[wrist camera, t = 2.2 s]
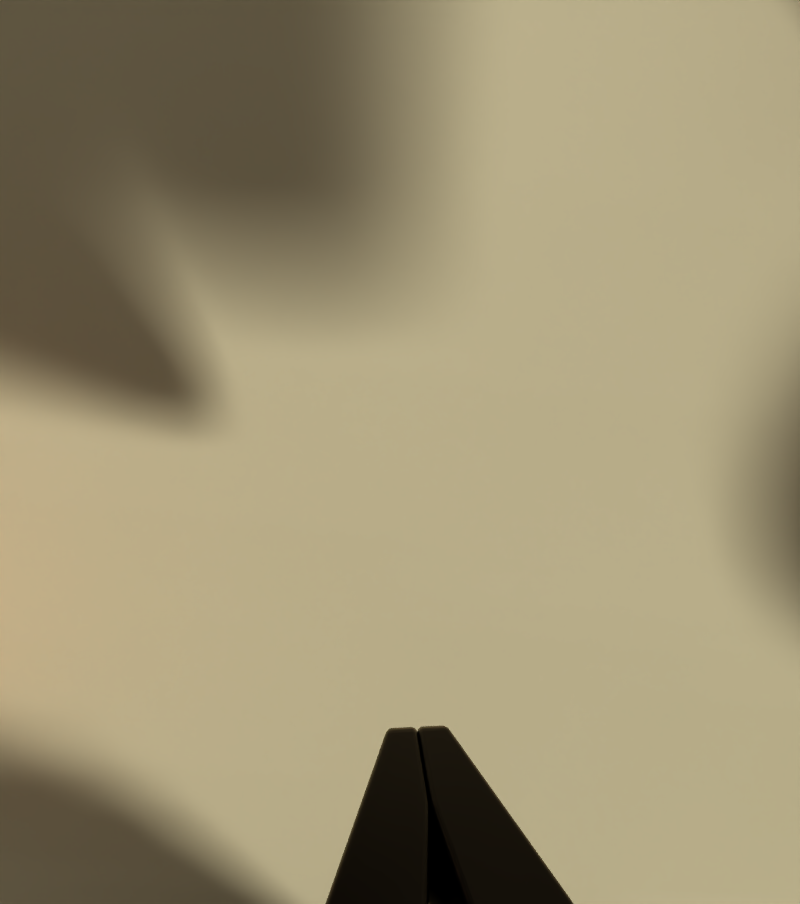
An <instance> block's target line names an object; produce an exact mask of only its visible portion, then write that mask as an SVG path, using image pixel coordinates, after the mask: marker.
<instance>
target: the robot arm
mask: <svg viewBox="0 0 800 904" xmlns="http://www.w3.org/2000/svg"><path fill="white" fill-rule="evenodd" d="M326 904H573V902H572V901H571V899H570V898H569V897H568V895H567V894H566V892H565V891H564V890H563V888H562V887H561V885H560V884H559V883H558V881H557V880H556V878H555V877H554V876H553V874H552V873H551V871H550V870H549V869H548V867H547V866H546V864H545V863H544V862H543V860H542V859H541V857H540V856H539V855H538V853H537V852H536V850H535V849H534V848H533V846H532V845H531V843H530V842H529V841H528V839H527V838H526V836H525V835H524V834H523V832H522V831H521V829H520V828H519V827H518V825H517V824H516V822H515V821H514V820H513V818H512V817H511V815H510V814H509V813H508V811H507V810H506V808H505V807H504V806H503V804H502V803H501V801H500V800H499V799H498V797H497V796H496V794H495V793H494V792H493V790H492V789H491V787H490V786H489V785H488V783H487V782H486V780H485V779H484V778H483V776H482V775H481V773H480V772H479V771H478V769H477V768H476V766H475V765H474V764H473V762H472V761H471V759H470V758H469V757H468V755H467V754H466V752H465V751H464V750H463V748H462V747H461V745H460V744H459V743H458V741H457V740H456V738H455V737H454V736H453V734H452V733H451V731H450V730H449V729H448V728H447V727H445V726H426V727H420V728H419V729H418V731H416V729H415V728H413V727H406V728H391V729H389V730H388V731H387V732H386V734H385V737H384V740H383V743H382V745H381V748H380V751H379V754H378V757H377V760H376V762H375V765H374V768H373V771H372V774H371V777H370V779H369V782H368V785H367V788H366V791H365V794H364V796H363V799H362V802H361V805H360V808H359V811H358V813H357V816H356V819H355V822H354V825H353V828H352V830H351V833H350V836H349V839H348V842H347V845H346V847H345V850H344V853H343V856H342V859H341V862H340V865H339V867H338V870H337V873H336V876H335V879H334V882H333V884H332V887H331V890H330V893H329V896H328V899H327V901H326Z"/></svg>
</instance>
